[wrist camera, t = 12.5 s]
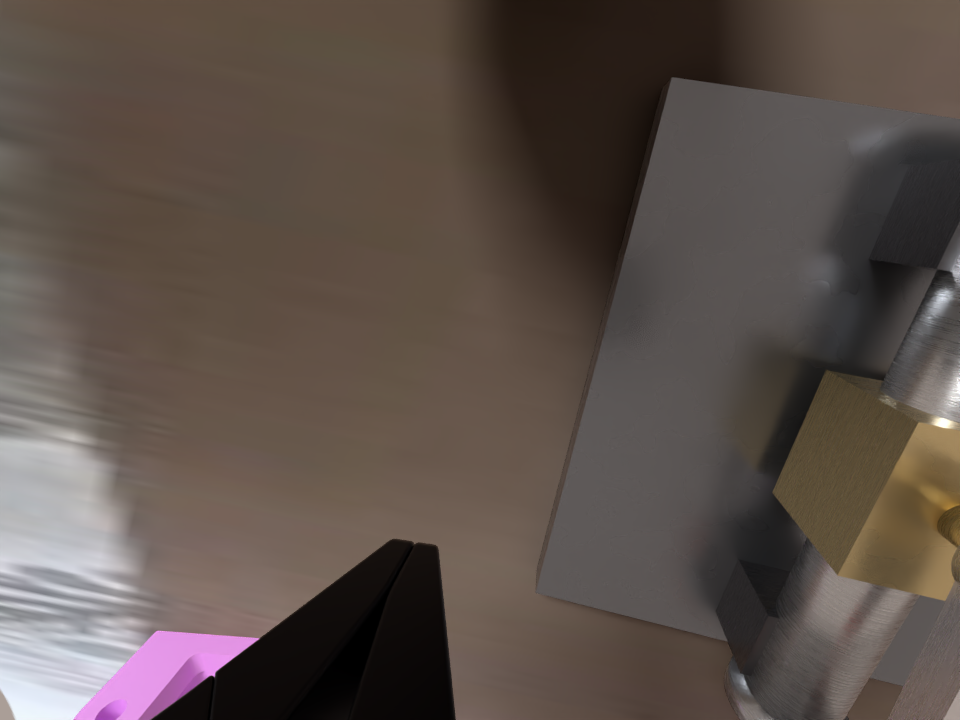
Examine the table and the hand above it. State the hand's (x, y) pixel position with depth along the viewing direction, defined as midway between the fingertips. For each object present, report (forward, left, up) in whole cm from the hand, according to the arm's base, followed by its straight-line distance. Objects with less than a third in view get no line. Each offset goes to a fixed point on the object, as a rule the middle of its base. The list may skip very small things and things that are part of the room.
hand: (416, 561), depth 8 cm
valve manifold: (0, +14, -13) cm, 19 cm away
